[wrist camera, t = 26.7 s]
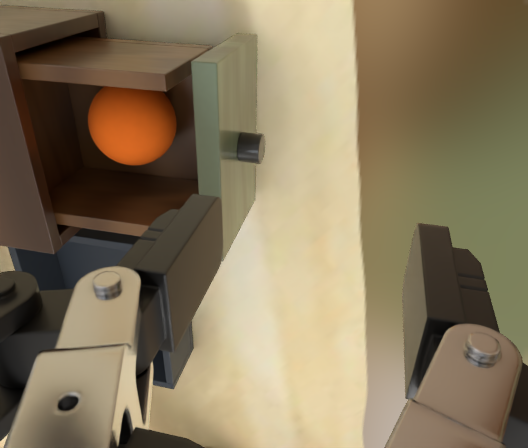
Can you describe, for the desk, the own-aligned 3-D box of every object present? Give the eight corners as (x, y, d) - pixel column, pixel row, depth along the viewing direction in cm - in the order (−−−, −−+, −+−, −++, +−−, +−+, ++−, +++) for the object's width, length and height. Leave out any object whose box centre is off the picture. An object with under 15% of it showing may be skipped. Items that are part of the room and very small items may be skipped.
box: (193, 348, 42) (173, 389, 38) (74, 325, 44) (44, 362, 40) (183, 214, 35) (157, 248, 31) (41, 194, 37) (0, 224, 33)
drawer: (278, 35, 26) (244, 65, 20) (273, 202, 31) (244, 265, 25) (55, 21, 28) (-37, 44, 22) (85, 178, 34) (18, 230, 28)
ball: (188, 167, 29) (145, 175, 24) (121, 156, 30) (68, 162, 26) (193, 85, 28) (149, 78, 23) (123, 78, 29) (68, 70, 25)
